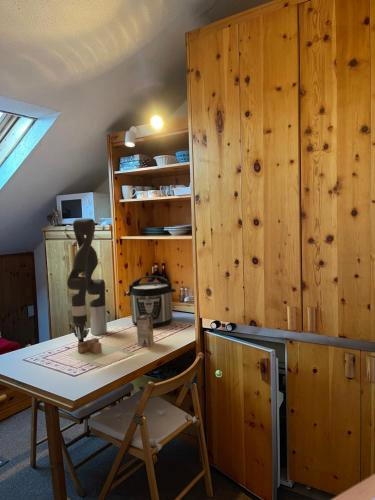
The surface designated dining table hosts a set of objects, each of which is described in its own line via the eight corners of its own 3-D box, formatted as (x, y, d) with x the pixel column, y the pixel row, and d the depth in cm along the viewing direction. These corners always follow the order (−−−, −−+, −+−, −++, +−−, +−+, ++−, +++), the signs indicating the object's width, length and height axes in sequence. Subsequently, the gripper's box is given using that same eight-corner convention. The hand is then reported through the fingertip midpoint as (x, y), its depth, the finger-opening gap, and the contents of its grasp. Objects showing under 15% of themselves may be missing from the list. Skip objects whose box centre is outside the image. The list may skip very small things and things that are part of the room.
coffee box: (143, 342, 214) (141, 314, 213) (153, 342, 213) (152, 314, 211) (137, 347, 205) (136, 318, 204) (149, 348, 204) (147, 318, 202)
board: (66, 357, 195) (66, 355, 195) (101, 345, 211) (101, 343, 211) (99, 368, 177) (98, 366, 177) (134, 354, 194) (134, 352, 194)
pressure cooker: (120, 326, 249) (118, 278, 246) (145, 316, 273) (143, 272, 271) (158, 331, 234) (156, 280, 231) (182, 320, 258) (180, 273, 256)
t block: (78, 352, 197) (77, 343, 197) (95, 347, 206) (95, 337, 205) (89, 356, 191) (89, 347, 190) (107, 350, 199) (107, 341, 199)
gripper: (66, 313, 204) (68, 345, 206) (80, 316, 196) (82, 349, 197) (78, 310, 210) (80, 341, 212) (92, 313, 202) (94, 345, 203)
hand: (81, 345), depth 204 cm, fingers closed
